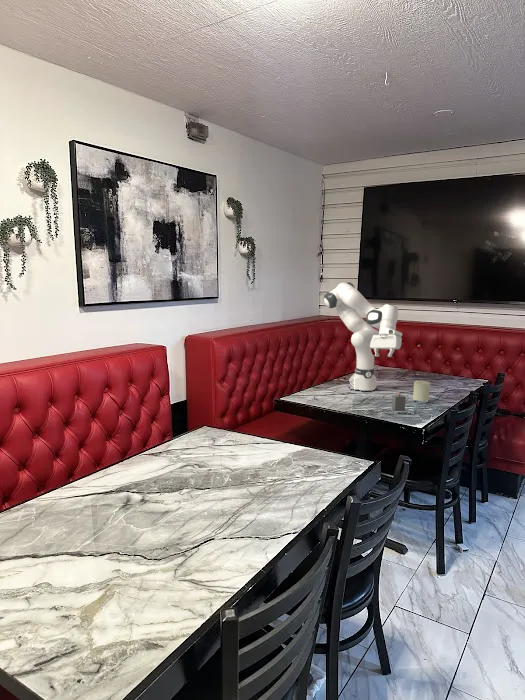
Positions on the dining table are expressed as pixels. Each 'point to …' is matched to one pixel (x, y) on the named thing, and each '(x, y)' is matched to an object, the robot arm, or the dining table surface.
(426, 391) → the can
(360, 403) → the dining table surface
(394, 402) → the block
